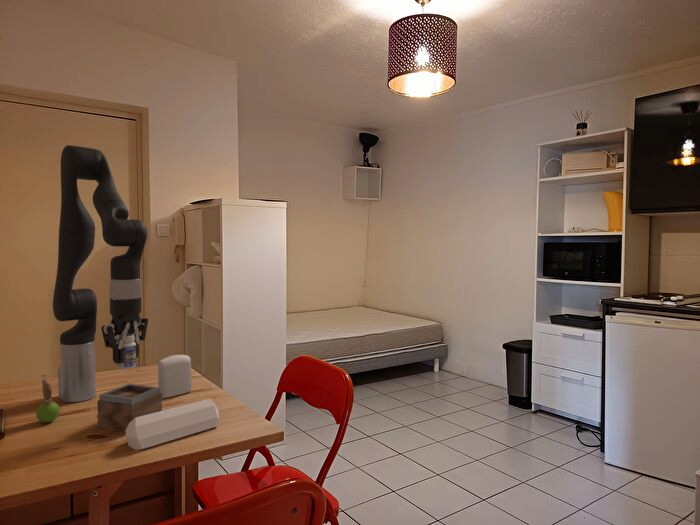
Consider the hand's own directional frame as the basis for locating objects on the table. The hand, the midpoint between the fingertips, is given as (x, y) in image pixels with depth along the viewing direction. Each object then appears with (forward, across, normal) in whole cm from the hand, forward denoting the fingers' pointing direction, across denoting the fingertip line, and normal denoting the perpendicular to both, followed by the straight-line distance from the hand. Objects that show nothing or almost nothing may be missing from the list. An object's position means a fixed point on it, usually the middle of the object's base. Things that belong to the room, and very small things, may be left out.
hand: (126, 360), depth 128 cm
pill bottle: (+2, 0, 0) cm, 2 cm away
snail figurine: (+17, +6, -20) cm, 28 cm away
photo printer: (+17, -24, -4) cm, 30 cm away
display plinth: (+17, -1, 0) cm, 17 cm away
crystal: (+17, +1, +16) cm, 24 cm away
